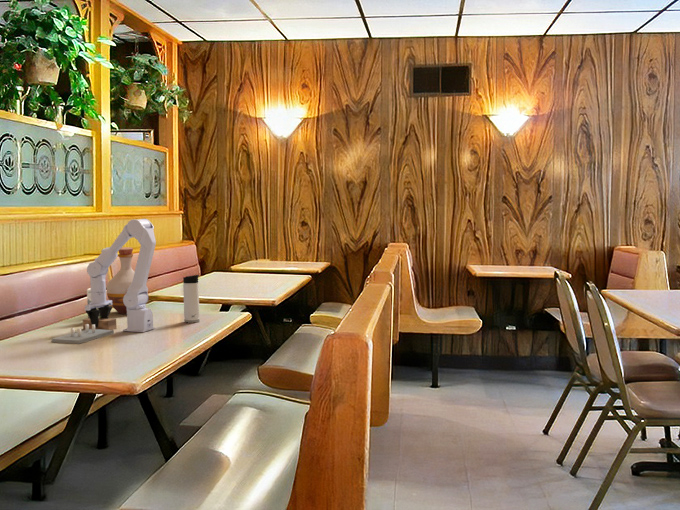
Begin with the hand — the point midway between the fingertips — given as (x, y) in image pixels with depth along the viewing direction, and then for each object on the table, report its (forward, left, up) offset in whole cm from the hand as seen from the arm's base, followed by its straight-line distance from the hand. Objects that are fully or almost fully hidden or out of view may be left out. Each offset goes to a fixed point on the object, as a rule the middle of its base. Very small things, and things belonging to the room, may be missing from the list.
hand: (99, 325), depth 269 cm
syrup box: (+12, -14, -2) cm, 19 cm away
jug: (+14, -38, -2) cm, 41 cm away
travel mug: (-28, -24, -2) cm, 37 cm away
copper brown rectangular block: (0, 0, -2) cm, 2 cm away
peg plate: (-5, +16, -1) cm, 17 cm away
